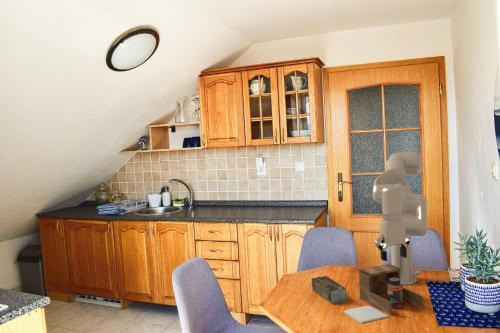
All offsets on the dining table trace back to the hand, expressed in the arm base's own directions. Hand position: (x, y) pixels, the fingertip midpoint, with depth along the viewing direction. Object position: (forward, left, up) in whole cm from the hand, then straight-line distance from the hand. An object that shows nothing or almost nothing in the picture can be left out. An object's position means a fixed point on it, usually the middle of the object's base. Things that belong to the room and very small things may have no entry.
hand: (393, 258), depth 176 cm
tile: (+16, +1, -20) cm, 25 cm away
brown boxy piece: (0, -4, -20) cm, 20 cm away
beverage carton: (+17, -24, -20) cm, 36 cm away
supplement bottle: (0, 0, -20) cm, 20 cm away
